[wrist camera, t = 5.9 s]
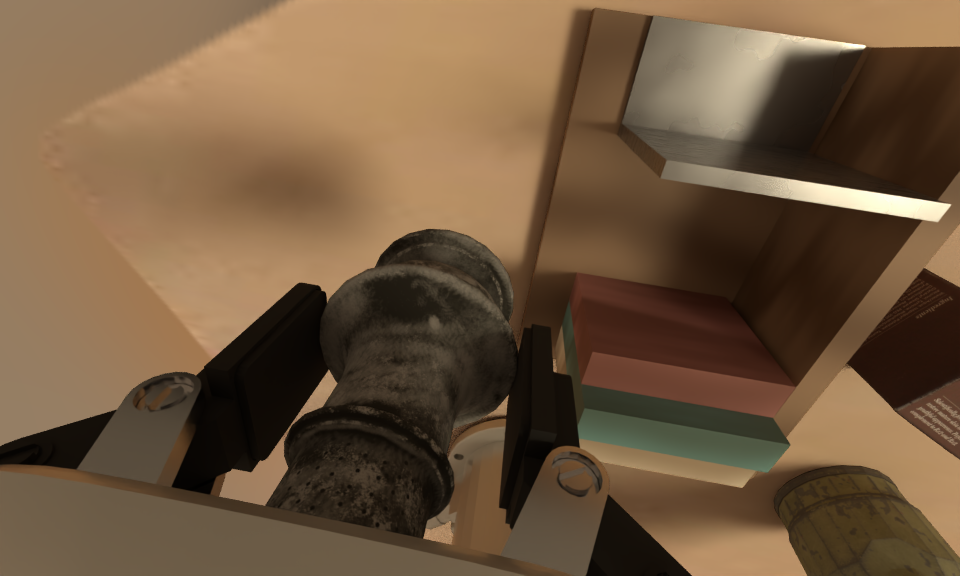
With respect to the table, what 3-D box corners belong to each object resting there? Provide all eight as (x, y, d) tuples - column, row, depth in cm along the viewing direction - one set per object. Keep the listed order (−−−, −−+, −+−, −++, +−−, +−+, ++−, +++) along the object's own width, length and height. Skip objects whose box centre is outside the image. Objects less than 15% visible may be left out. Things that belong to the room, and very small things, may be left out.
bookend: (798, 162, 20) (937, 222, 13) (617, 135, 20) (660, 178, 13) (860, 45, 17) (1077, 42, 10) (651, 15, 17) (727, -8, 11)
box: (803, 322, 25) (892, 411, 19) (904, 254, 22) (1048, 332, 16) (863, 368, 27) (964, 466, 20) (966, 310, 24) (1121, 403, 17)
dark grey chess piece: (434, 381, 17) (262, 905, 6) (332, 278, 15) (-157, 771, 4) (553, 316, 14) (604, 958, 4) (452, 185, 13) (45, 731, 2)
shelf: (700, 375, 28) (771, 515, 20) (517, 343, 29) (510, 466, 20) (883, 51, 18) (1202, 51, 9) (592, 9, 18) (643, -27, 10)
